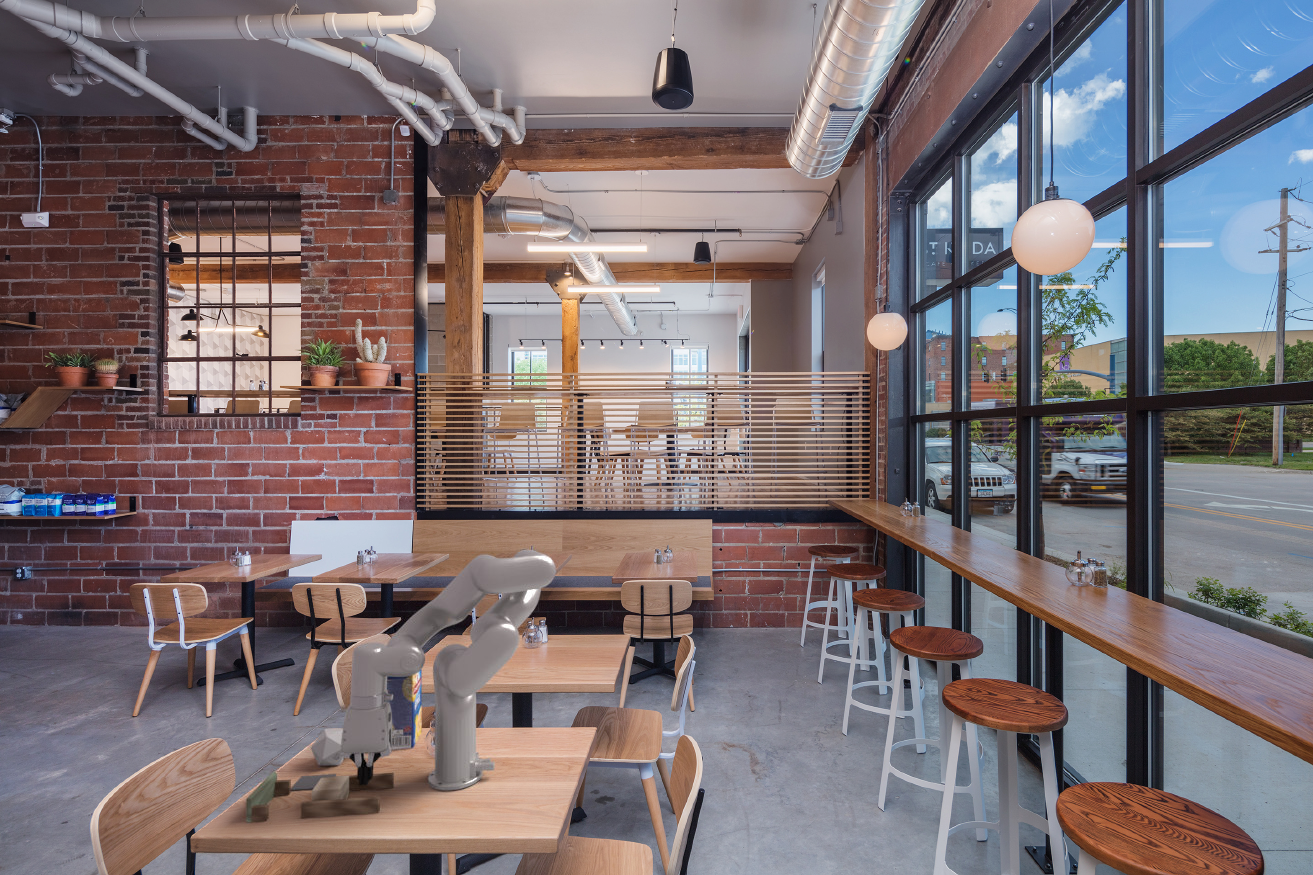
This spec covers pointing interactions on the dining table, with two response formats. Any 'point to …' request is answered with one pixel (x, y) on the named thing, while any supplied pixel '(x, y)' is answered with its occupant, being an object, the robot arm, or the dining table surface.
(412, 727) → the beverage box
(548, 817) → the dining table surface
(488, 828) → the dining table surface
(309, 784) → the mat
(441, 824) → the dining table surface
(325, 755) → the die
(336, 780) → the oak block
